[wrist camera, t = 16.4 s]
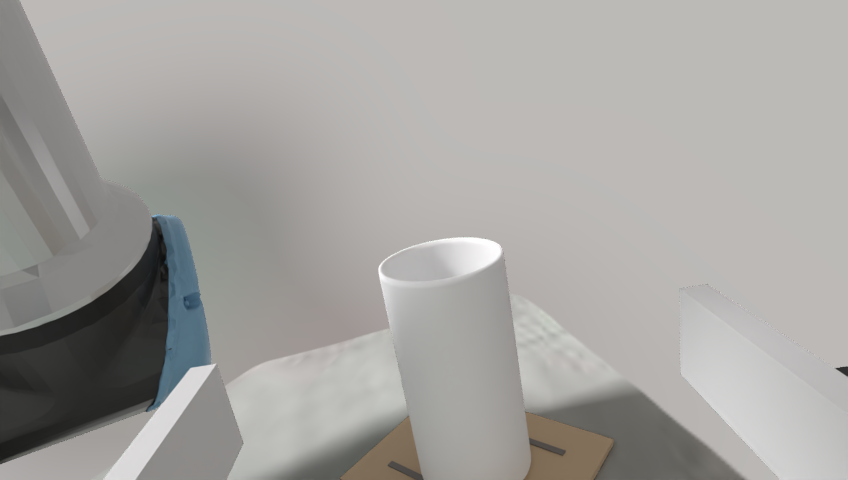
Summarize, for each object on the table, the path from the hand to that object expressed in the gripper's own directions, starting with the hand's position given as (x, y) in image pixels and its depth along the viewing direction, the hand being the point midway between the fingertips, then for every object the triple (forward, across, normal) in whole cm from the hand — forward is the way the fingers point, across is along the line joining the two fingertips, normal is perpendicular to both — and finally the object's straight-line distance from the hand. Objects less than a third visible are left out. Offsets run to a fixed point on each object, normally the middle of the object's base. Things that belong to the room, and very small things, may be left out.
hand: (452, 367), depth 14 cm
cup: (+18, 0, -19) cm, 26 cm away
